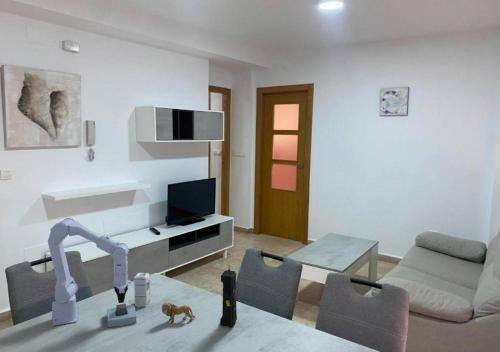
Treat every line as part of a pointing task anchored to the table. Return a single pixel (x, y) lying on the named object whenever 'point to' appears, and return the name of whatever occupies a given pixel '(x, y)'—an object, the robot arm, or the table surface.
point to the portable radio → (228, 299)
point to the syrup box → (142, 289)
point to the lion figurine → (176, 311)
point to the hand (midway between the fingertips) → (121, 302)
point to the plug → (120, 309)
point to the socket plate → (121, 317)
